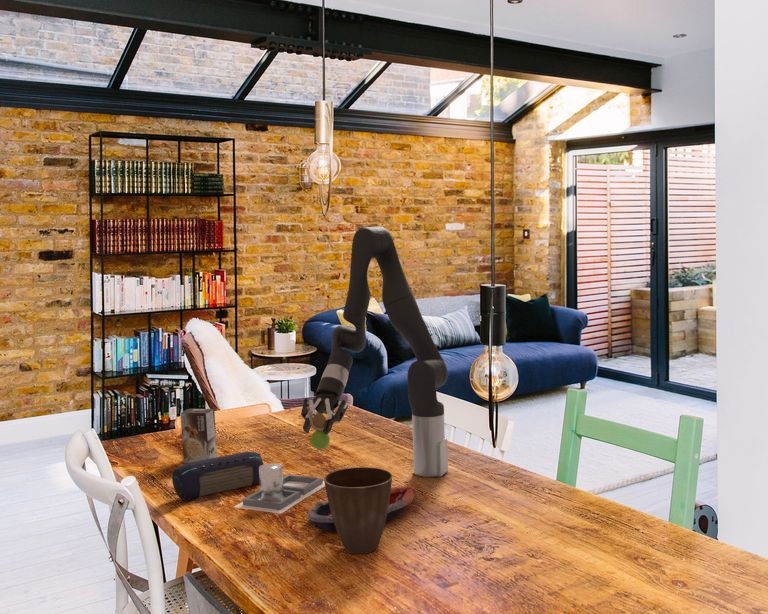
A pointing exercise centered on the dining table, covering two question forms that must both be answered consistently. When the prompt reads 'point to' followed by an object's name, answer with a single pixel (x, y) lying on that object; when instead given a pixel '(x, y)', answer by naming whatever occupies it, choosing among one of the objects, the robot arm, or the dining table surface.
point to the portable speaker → (216, 475)
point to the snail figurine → (318, 430)
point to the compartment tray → (285, 494)
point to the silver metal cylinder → (271, 482)
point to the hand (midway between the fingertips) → (315, 432)
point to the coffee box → (198, 434)
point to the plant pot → (359, 506)
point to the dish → (397, 507)
